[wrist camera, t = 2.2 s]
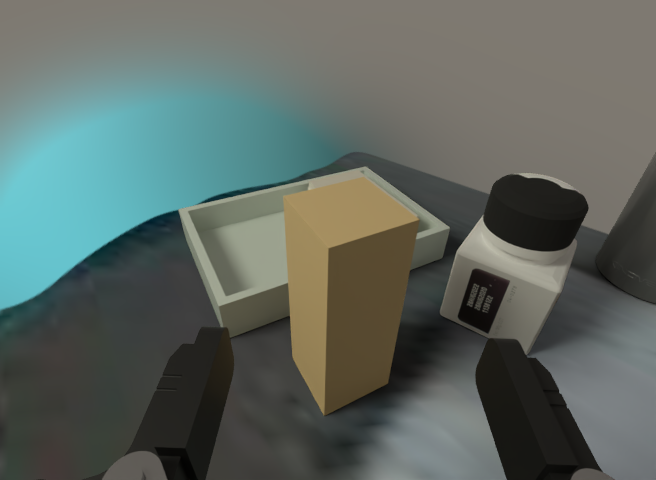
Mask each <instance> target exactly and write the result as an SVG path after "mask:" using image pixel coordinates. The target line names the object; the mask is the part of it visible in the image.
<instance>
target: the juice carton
mask: <svg viewBox="0 0 656 480" xmlns="http://www.w3.org/2000/svg"><path fill="white" fill-rule="evenodd" d="M283 203H284V220H285V237H286V254H287V271H288V288H289V305H290V322H291V339H292V356H293V359H294V361H295V363H296V365H297V367H298V369H299V370H300V372H301V374H302V376H303V378H304V380H305V381H306V383H307V385H308V387H309V389H310V391H311V392H312V394H313V396H314V398H315V400H316V402H317V404H318V405H319V407H320V409H321V411H322V413H323V415H324V416H325V415H327V414H329V413H331V412H333V411H335V410H337V409H339V408H341V407H343V406H345V405H347V404H349V403H351V402H353V401H355V400H357V399H359V398H361V397H363V396H365V395H367V394H369V393H370V392H372V391H374V390H376V389H378V388H380V387H382V386H384V385H386V384H388V380H389V375H390V370H391V365H392V360H393V355H394V350H395V344H396V339H397V334H398V329H399V324H400V319H401V314H402V308H403V303H404V298H405V293H406V288H407V283H408V278H409V272H410V267H411V262H412V257H413V252H414V247H415V242H416V236H417V231H418V226H419V221H420V219H418V218H417V217H416V216H414V215H413V214H412V213H411V212H409V211H408V210H407V209H405V208H404V207H403V206H401V205H400V204H399V203H397V202H396V201H395V200H393V199H392V198H391V197H390V196H388V195H387V194H386V193H384V192H383V191H382V190H380V189H379V188H378V187H376V186H375V185H374V184H373V183H371V182H370V181H369V180H367V179H366V178H365V177H361V178H357V179H352V180H348V181H344V182H340V183H336V184H332V185H327V186H323V187H319V188H315V189H311V190H307V191H302V192H298V193H294V194H290V195H286V196H283Z"/></svg>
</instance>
